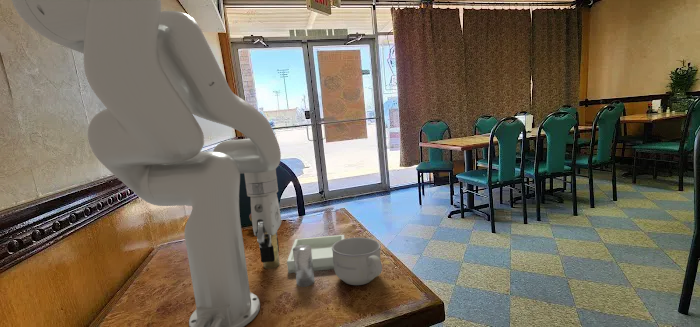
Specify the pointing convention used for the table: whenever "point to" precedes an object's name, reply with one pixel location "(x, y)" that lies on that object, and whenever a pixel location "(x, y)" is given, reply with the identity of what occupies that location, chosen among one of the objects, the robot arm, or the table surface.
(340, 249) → the teacup
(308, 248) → the steel roller
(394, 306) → the table surface
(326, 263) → the tray
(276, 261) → the brass roller
